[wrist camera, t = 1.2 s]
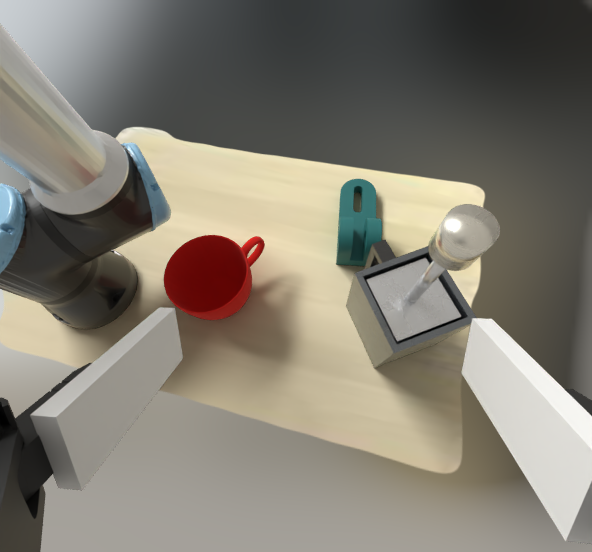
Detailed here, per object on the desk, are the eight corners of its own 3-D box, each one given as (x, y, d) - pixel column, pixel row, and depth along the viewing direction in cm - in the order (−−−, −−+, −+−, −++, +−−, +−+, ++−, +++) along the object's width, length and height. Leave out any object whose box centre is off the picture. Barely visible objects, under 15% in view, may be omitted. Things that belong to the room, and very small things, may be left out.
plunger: (365, 281, 41) (394, 201, 25) (424, 259, 42) (489, 168, 26) (395, 342, 38) (451, 294, 22) (459, 317, 38) (558, 253, 22)
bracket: (373, 267, 56) (381, 246, 49) (336, 265, 57) (338, 244, 49) (374, 187, 63) (381, 158, 56) (340, 185, 64) (343, 157, 56)
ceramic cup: (291, 282, 56) (286, 257, 46) (215, 345, 52) (193, 332, 43) (248, 237, 60) (235, 206, 51) (175, 292, 56) (147, 269, 47)
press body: (337, 287, 55) (343, 249, 42) (394, 266, 55) (417, 223, 43) (374, 368, 49) (393, 353, 36) (437, 343, 50) (478, 320, 37)
